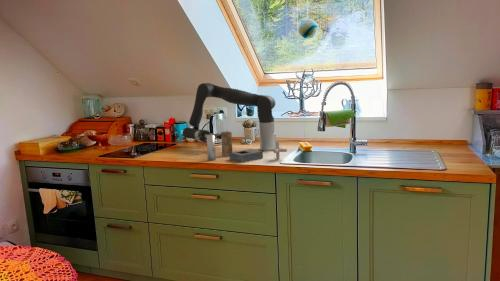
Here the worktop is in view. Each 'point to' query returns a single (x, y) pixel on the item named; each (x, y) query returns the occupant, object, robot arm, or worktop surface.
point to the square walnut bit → (226, 143)
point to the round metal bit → (211, 147)
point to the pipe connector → (277, 150)
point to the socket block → (246, 155)
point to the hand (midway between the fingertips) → (216, 138)
